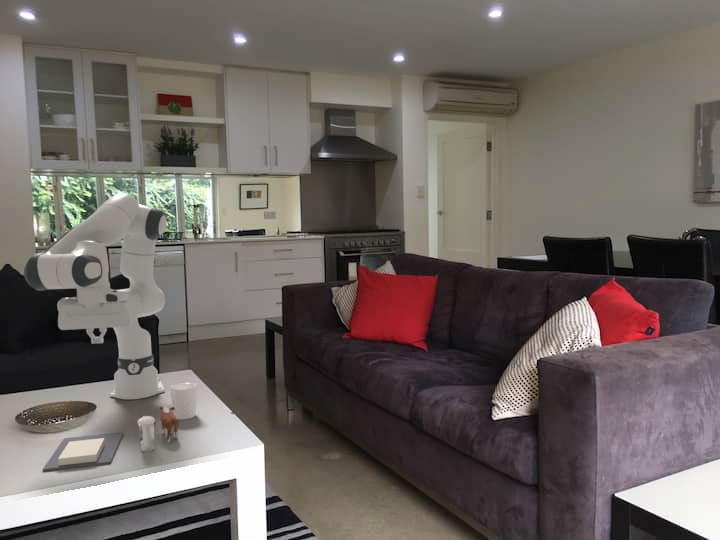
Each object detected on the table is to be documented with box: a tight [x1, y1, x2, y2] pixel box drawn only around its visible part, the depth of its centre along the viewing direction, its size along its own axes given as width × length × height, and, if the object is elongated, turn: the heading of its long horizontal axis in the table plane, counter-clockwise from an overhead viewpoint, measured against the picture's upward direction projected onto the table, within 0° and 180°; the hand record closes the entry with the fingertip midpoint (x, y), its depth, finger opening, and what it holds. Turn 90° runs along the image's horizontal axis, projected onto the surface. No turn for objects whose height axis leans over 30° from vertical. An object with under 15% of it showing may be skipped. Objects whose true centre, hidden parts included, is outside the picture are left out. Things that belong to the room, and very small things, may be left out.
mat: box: [42, 431, 124, 472], centre depth 159 cm, size 22×16×1 cm
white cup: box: [170, 382, 197, 421], centre depth 186 cm, size 8×8×10 cm
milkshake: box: [134, 415, 156, 453], centre depth 158 cm, size 4×5×10 cm
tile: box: [58, 438, 105, 466], centre depth 155 cm, size 2×9×12 cm
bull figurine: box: [159, 403, 180, 444], centre depth 168 cm, size 4×13×8 cm, turn 25°
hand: (97, 343), depth 170 cm, fingers closed
